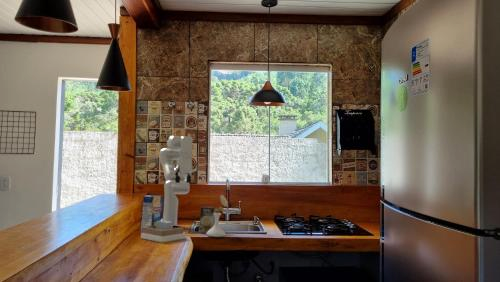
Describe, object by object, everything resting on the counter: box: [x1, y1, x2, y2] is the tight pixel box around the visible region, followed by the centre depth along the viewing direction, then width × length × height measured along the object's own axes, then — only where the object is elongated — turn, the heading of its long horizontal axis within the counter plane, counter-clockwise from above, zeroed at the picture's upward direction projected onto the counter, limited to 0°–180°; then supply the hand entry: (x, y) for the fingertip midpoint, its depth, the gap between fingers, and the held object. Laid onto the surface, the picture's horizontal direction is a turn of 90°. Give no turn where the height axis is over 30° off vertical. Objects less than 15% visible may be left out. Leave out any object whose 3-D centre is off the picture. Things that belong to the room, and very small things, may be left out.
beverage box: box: [140, 194, 164, 235], centre depth 210 cm, size 7×11×22 cm, turn 164°
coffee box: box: [198, 206, 217, 234], centre depth 222 cm, size 9×6×16 cm
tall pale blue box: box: [156, 220, 174, 230], centre depth 195 cm, size 8×5×6 cm, turn 57°
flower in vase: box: [205, 194, 229, 238], centre depth 210 cm, size 13×11×25 cm
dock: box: [140, 225, 186, 243], centre depth 194 cm, size 16×18×6 cm
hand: (183, 182), depth 220 cm, fingers open, 9 cm apart
